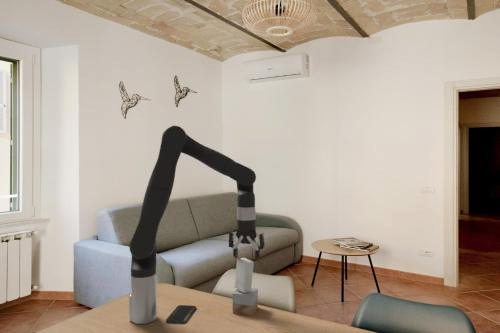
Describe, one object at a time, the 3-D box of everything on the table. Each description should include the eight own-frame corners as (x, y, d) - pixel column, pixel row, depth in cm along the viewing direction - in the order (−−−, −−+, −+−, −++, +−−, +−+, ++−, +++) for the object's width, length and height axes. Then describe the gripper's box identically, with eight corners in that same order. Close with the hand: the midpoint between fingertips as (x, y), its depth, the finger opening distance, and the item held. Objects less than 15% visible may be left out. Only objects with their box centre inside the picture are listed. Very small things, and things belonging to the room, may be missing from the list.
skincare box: (251, 291, 145) (255, 262, 144) (242, 293, 142) (246, 263, 142) (241, 285, 150) (245, 257, 149) (233, 287, 147) (236, 258, 146)
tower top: (232, 303, 143) (232, 293, 143) (239, 296, 151) (239, 286, 151) (252, 305, 141) (251, 295, 141) (257, 298, 149) (257, 288, 148)
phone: (196, 305, 149) (184, 321, 134) (196, 308, 149) (184, 324, 134) (178, 305, 150) (164, 320, 136) (178, 307, 150) (164, 323, 136)
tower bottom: (232, 313, 143) (232, 303, 143) (239, 306, 151) (238, 296, 151) (252, 316, 141) (252, 305, 141) (257, 308, 149) (257, 298, 149)
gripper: (226, 218, 143) (226, 260, 144) (261, 220, 139) (261, 262, 140) (232, 216, 151) (232, 255, 151) (265, 217, 147) (266, 257, 147)
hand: (246, 258), depth 145 cm, fingers open, 8 cm apart
